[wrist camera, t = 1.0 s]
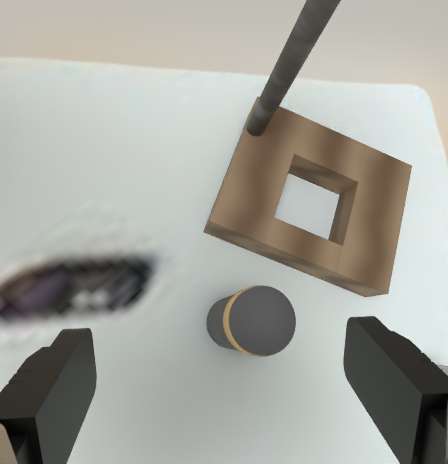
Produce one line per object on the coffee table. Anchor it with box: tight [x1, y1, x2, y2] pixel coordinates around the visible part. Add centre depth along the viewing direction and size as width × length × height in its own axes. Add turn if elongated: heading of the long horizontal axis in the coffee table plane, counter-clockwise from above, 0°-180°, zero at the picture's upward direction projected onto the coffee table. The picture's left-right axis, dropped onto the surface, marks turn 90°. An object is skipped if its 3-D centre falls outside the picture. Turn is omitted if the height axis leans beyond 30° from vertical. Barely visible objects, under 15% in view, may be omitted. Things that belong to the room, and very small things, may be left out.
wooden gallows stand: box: [204, 0, 412, 297], centre depth 26 cm, size 20×16×32 cm
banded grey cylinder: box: [207, 286, 296, 356], centre depth 31 cm, size 5×5×11 cm
